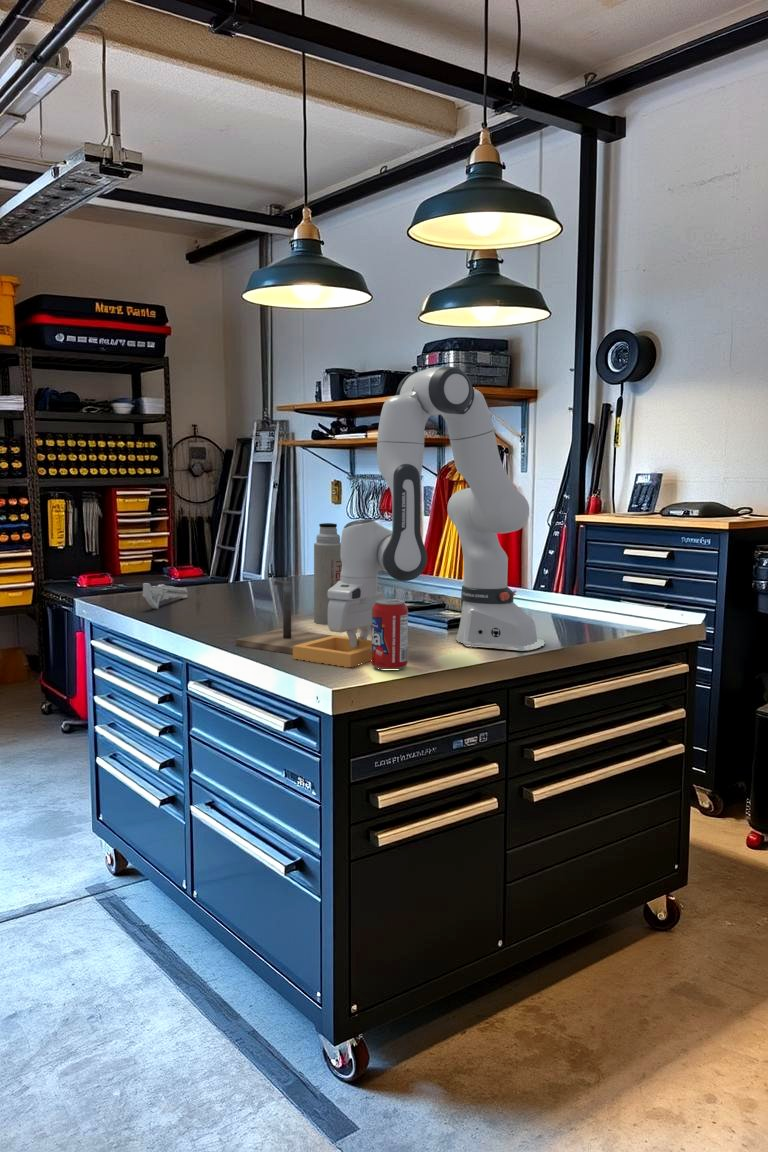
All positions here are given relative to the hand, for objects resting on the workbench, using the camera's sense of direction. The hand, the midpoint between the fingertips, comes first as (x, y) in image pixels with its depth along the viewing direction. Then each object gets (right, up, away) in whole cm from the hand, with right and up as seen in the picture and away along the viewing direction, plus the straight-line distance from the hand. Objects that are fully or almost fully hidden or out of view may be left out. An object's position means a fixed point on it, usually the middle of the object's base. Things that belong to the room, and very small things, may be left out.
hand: (358, 645), depth 211 cm
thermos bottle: (-10, +3, +40) cm, 42 cm away
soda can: (+7, -4, -16) cm, 18 cm away
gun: (-62, +7, +68) cm, 93 cm away
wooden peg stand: (-18, 0, +9) cm, 20 cm away
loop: (-4, -2, -6) cm, 7 cm away
